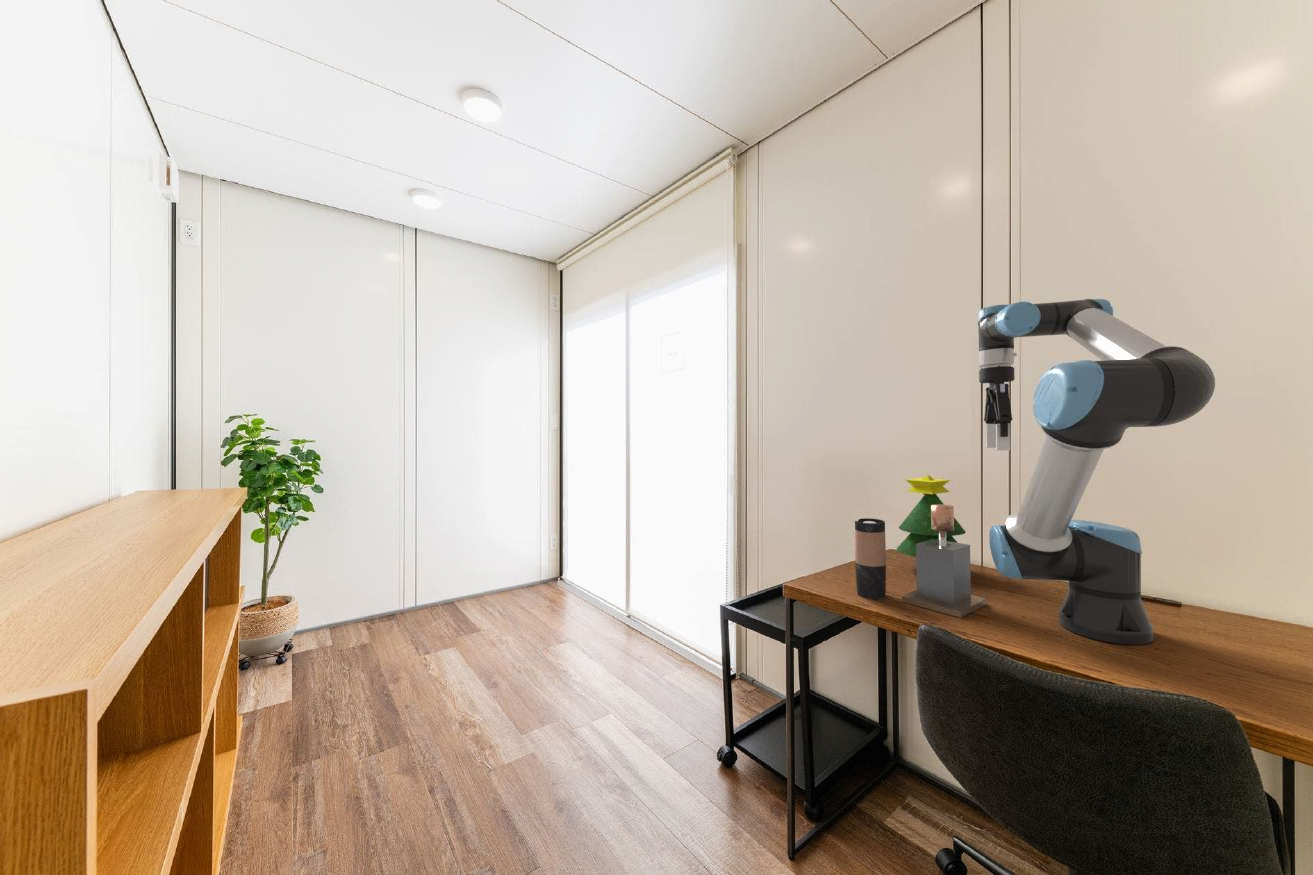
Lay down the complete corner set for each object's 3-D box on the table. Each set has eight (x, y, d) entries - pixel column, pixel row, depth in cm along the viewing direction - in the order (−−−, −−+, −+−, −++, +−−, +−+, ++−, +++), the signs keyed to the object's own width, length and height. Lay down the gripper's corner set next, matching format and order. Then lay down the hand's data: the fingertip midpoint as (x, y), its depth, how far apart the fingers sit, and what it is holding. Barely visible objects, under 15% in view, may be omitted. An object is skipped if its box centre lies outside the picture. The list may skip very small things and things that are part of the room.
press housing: (986, 604, 124) (985, 544, 124) (960, 617, 116) (959, 554, 116) (929, 590, 135) (928, 535, 135) (902, 601, 127) (901, 543, 127)
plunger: (958, 588, 125) (957, 505, 125) (949, 592, 122) (947, 508, 122) (937, 583, 129) (936, 503, 129) (928, 587, 126) (927, 505, 126)
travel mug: (891, 599, 129) (890, 523, 129) (862, 599, 130) (861, 523, 129) (879, 589, 137) (877, 517, 137) (851, 590, 137) (850, 518, 137)
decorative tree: (942, 585, 139) (940, 479, 139) (883, 568, 156) (881, 474, 156) (982, 574, 148) (980, 474, 147) (922, 559, 165) (921, 470, 165)
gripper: (1026, 360, 114) (1027, 451, 115) (1003, 370, 137) (1004, 446, 138) (988, 363, 118) (989, 451, 118) (971, 372, 140) (972, 446, 141)
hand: (997, 449), depth 128 cm, fingers open, 13 cm apart
